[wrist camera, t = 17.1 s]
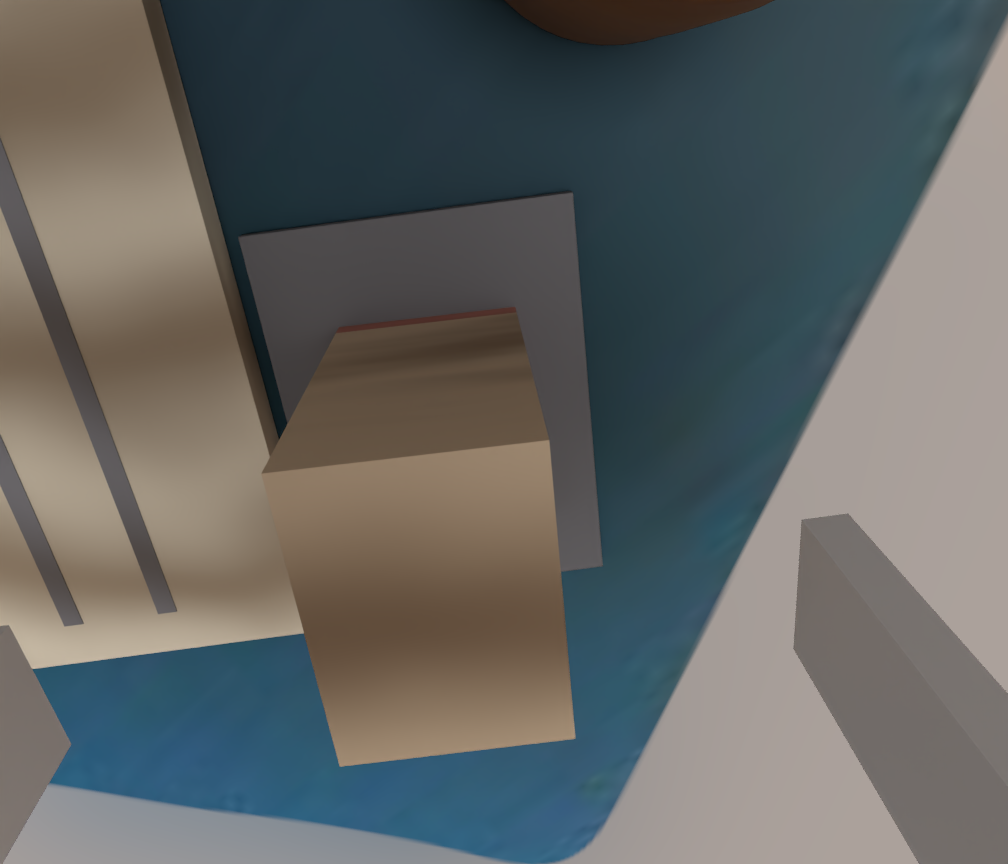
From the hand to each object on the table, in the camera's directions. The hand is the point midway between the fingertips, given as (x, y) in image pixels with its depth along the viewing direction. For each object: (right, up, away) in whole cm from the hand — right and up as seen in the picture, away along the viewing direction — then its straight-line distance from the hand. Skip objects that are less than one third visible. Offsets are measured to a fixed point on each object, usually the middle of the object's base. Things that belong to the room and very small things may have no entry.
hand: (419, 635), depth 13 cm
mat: (-1, +4, +10) cm, 11 cm away
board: (-12, +7, +8) cm, 16 cm away
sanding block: (0, +3, +10) cm, 11 cm away
